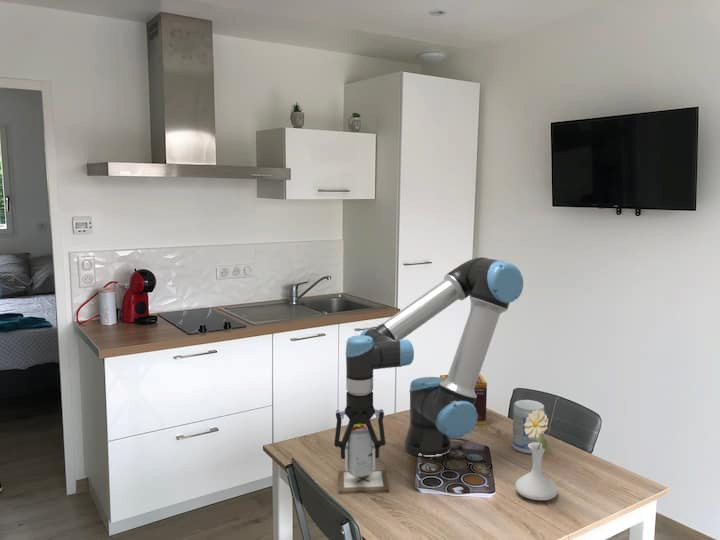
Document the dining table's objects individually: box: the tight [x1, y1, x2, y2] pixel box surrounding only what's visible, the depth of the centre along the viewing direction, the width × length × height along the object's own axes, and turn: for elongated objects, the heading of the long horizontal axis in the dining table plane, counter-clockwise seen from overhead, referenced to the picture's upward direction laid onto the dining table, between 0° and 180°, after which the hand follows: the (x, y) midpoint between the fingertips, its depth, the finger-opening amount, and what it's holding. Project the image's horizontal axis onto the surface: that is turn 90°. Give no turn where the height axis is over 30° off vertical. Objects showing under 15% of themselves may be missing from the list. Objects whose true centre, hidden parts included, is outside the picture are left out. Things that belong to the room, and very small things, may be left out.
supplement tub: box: [511, 399, 545, 454], centre depth 193 cm, size 10×10×15 cm
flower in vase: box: [514, 410, 559, 501], centre depth 162 cm, size 13×11×25 cm
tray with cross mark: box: [338, 469, 390, 494], centre depth 172 cm, size 14×12×1 cm
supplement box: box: [439, 373, 488, 426], centre depth 217 cm, size 10×15×16 cm
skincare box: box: [347, 427, 373, 477], centre depth 171 cm, size 6×4×12 cm
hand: (360, 468), depth 171 cm, fingers closed on skincare box, 7 cm apart
